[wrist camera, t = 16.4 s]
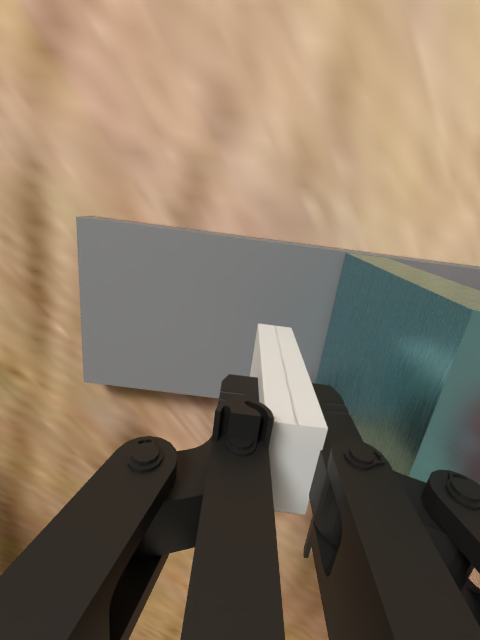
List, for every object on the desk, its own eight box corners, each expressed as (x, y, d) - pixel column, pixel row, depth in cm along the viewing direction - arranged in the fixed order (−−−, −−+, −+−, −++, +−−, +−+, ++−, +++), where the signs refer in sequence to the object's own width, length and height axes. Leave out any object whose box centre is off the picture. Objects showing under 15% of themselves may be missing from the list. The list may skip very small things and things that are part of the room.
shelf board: (544, 275, 17) (973, 371, 7) (480, 417, 20) (713, 627, 10) (91, 216, 16) (-152, 226, 6) (96, 369, 19) (-65, 536, 9)
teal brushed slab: (387, 257, 15) (570, 322, 6) (343, 416, 18) (427, 605, 9) (345, 252, 15) (473, 310, 6) (308, 412, 18) (361, 597, 9)
